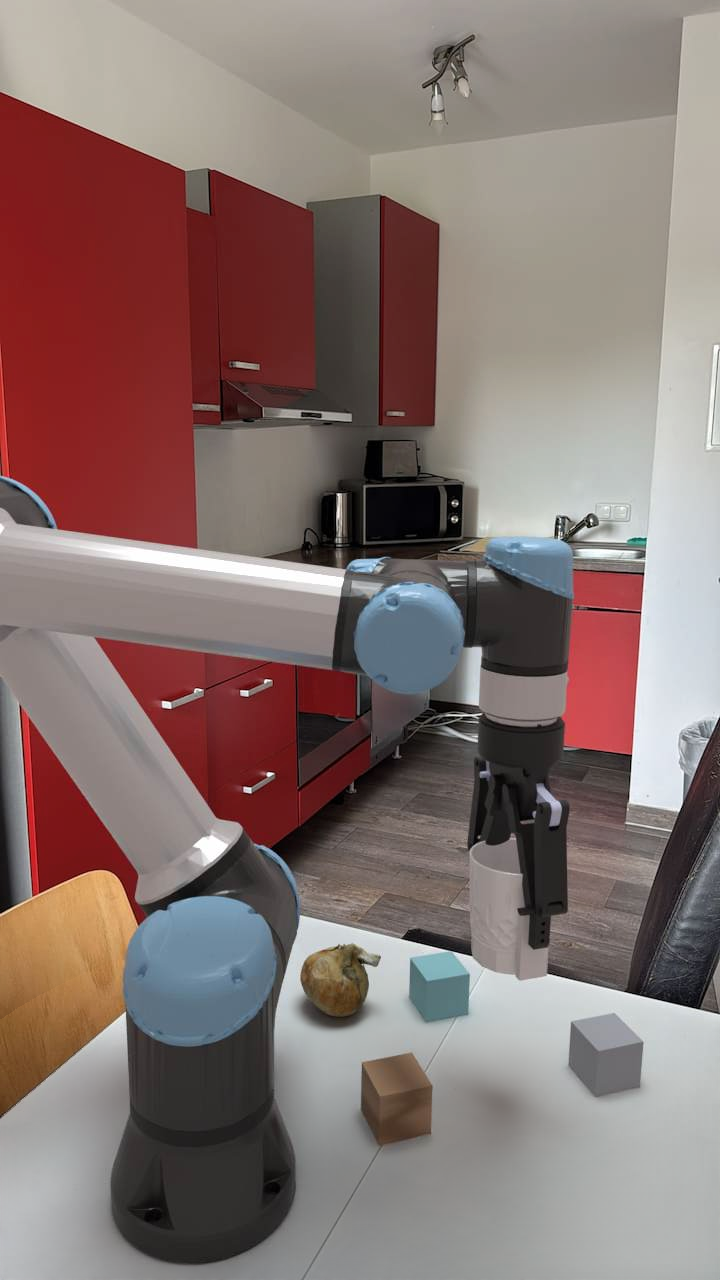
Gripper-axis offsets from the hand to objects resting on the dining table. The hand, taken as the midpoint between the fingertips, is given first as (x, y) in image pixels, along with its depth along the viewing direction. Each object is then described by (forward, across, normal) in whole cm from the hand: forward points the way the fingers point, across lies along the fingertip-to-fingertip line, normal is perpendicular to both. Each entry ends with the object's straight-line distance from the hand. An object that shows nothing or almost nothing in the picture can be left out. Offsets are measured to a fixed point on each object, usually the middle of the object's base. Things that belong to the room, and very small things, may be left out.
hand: (509, 952), depth 88 cm
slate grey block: (+15, 0, -11) cm, 19 cm away
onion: (+15, +19, +11) cm, 27 cm away
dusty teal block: (+15, +16, 0) cm, 22 cm away
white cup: (+1, 0, 0) cm, 1 cm away
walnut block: (+15, 0, +11) cm, 19 cm away
